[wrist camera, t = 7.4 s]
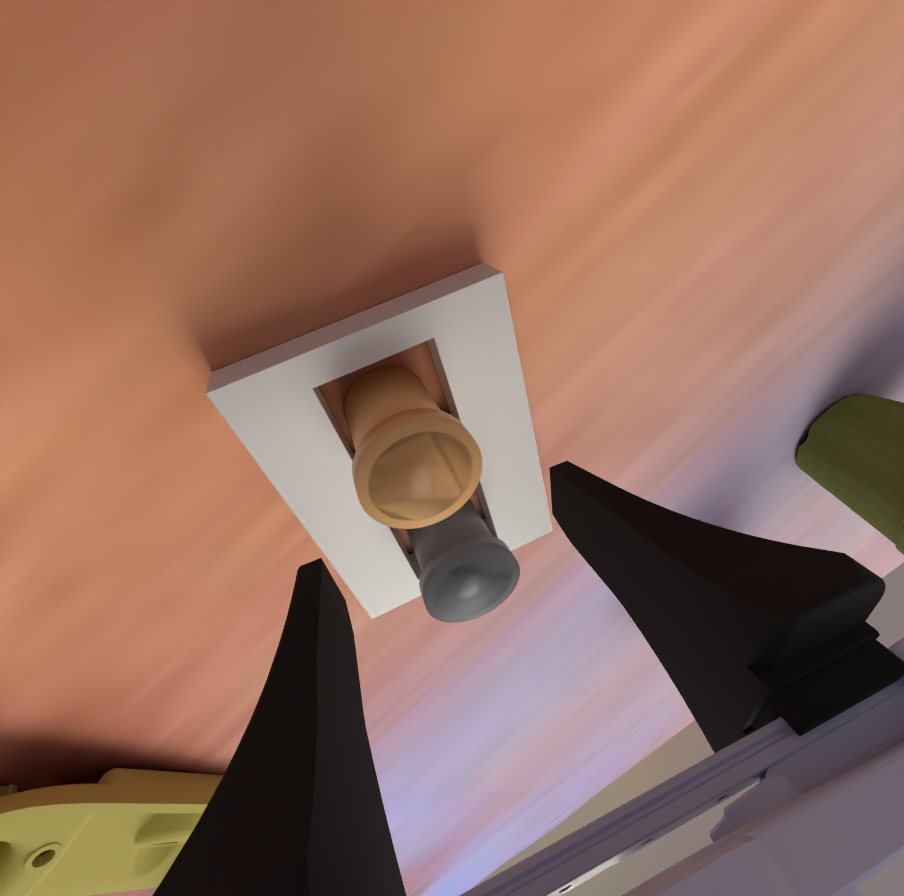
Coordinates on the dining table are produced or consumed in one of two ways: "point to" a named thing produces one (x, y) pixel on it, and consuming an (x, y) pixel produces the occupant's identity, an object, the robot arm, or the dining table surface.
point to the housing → (330, 456)
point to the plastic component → (98, 832)
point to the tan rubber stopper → (407, 451)
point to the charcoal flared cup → (463, 566)
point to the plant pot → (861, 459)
